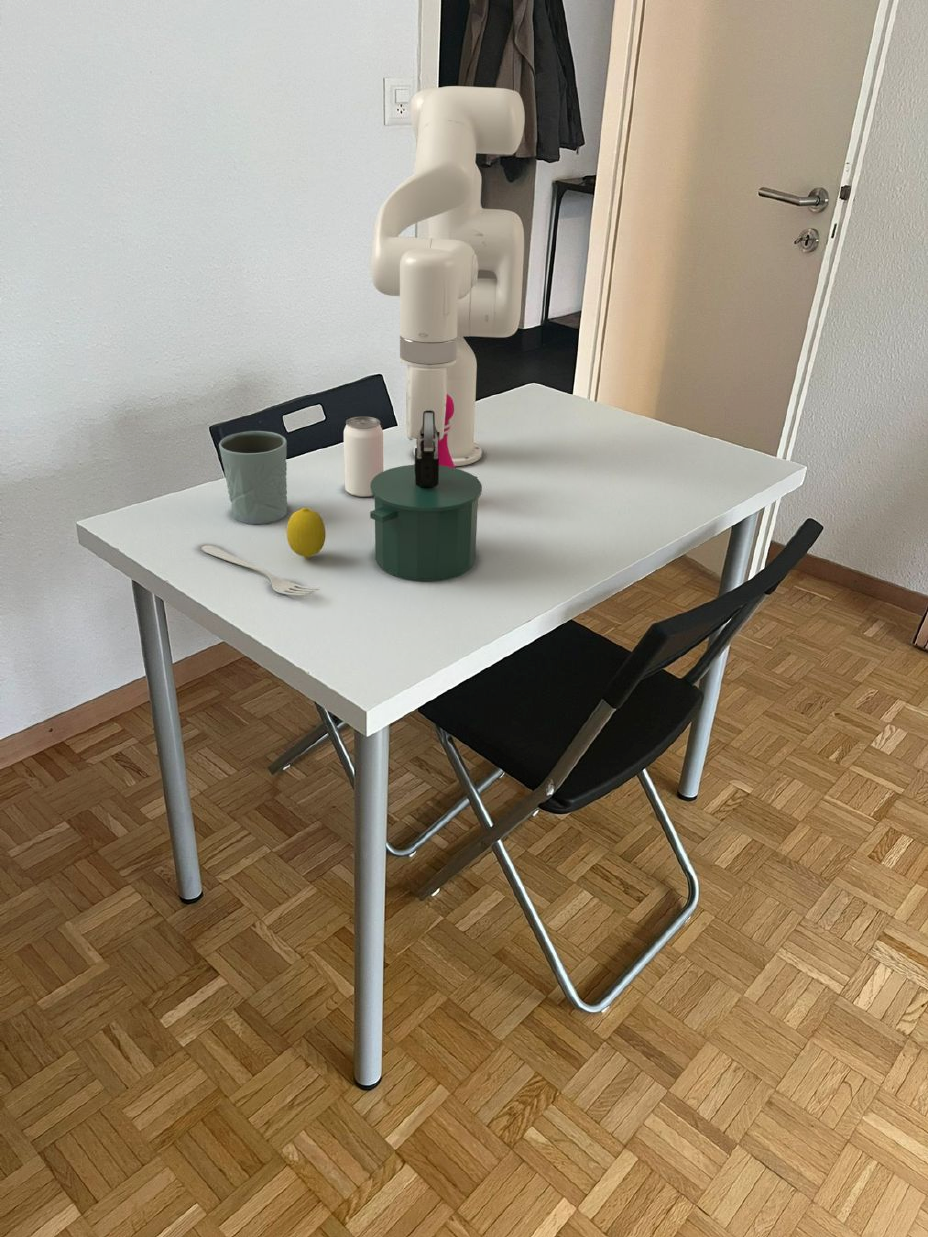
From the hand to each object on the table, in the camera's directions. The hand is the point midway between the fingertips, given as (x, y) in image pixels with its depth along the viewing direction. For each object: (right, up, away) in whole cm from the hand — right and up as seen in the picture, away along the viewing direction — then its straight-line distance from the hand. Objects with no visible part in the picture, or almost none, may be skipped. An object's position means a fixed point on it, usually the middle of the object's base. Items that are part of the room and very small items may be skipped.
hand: (426, 478), depth 138 cm
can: (-12, +2, +27) cm, 30 cm away
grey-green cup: (-28, -3, +18) cm, 33 cm away
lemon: (-18, -11, +5) cm, 21 cm away
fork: (-24, -14, 0) cm, 28 cm away
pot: (0, -11, +6) cm, 12 cm away
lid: (0, -1, +1) cm, 1 cm away
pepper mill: (0, 0, +25) cm, 25 cm away
